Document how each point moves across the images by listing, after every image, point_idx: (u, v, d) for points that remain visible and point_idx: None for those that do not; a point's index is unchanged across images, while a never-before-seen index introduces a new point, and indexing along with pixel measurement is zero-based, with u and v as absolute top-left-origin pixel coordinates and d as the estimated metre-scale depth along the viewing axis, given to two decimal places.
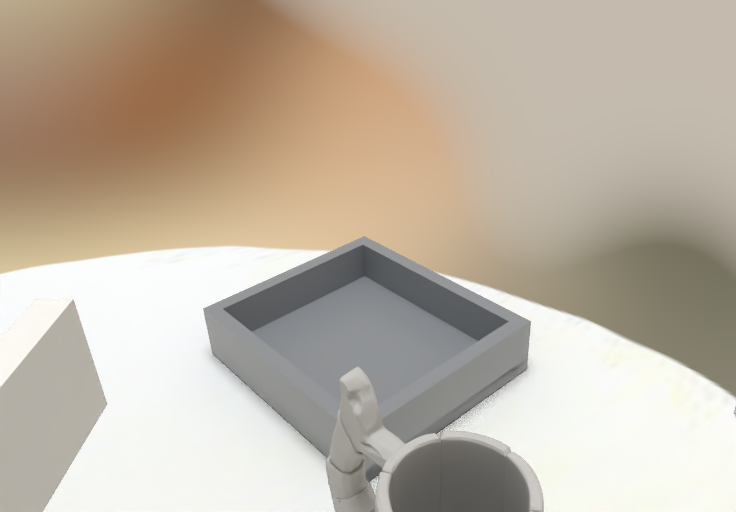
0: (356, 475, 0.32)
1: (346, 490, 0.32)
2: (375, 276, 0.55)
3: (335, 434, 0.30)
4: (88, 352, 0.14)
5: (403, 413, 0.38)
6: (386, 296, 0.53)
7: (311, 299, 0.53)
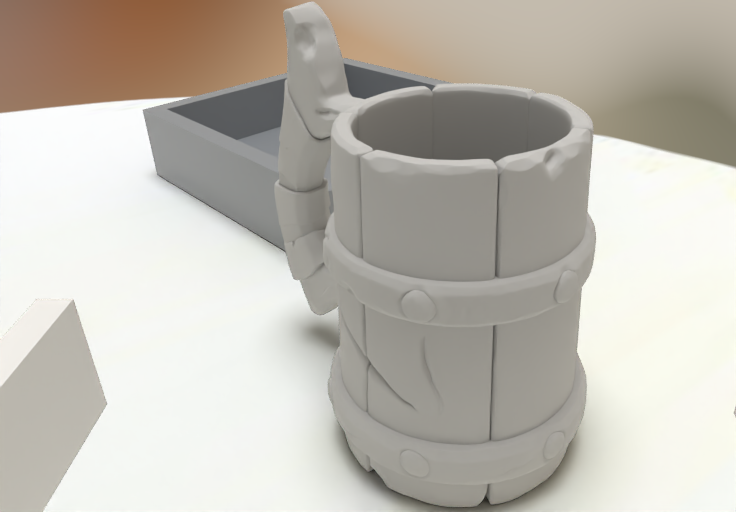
0: (315, 198, 0.22)
1: (302, 222, 0.23)
2: None
3: (282, 122, 0.21)
4: (88, 353, 0.14)
5: None
6: None
7: (280, 122, 0.44)
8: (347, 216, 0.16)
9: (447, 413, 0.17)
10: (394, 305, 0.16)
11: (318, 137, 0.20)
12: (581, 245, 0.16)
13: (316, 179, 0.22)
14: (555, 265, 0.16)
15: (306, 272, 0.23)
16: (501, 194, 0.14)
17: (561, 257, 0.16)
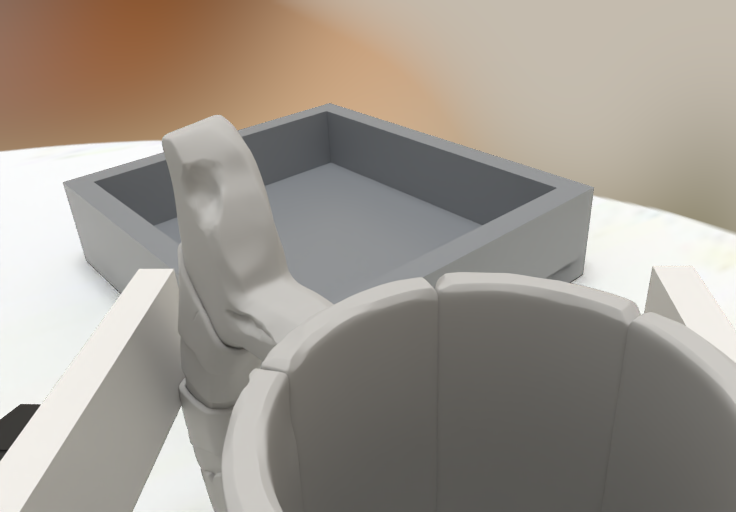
0: None
1: (222, 451, 0.14)
2: (345, 159, 0.37)
3: (179, 309, 0.12)
4: None
5: None
6: (360, 183, 0.35)
7: None
8: None
9: None
10: None
11: (236, 346, 0.12)
12: None
13: (243, 388, 0.13)
14: None
15: None
16: None
17: None
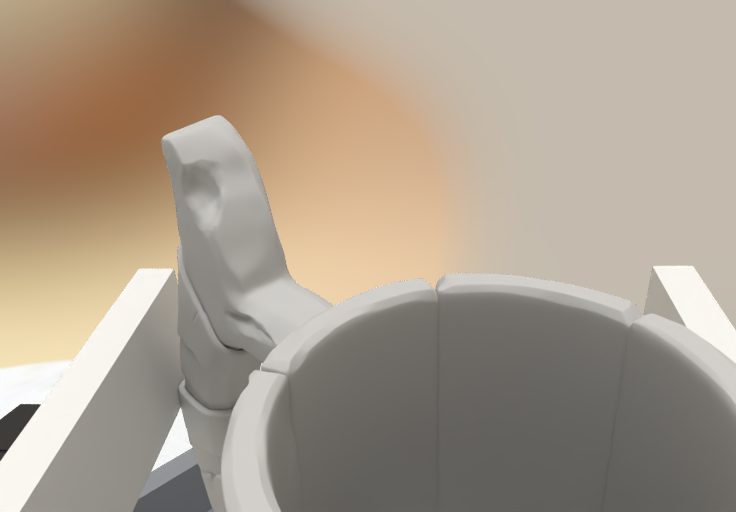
0: None
1: None
2: None
3: (179, 310, 0.12)
4: None
5: None
6: None
7: None
8: None
9: None
10: None
11: (236, 347, 0.12)
12: None
13: (243, 389, 0.13)
14: None
15: None
16: None
17: None
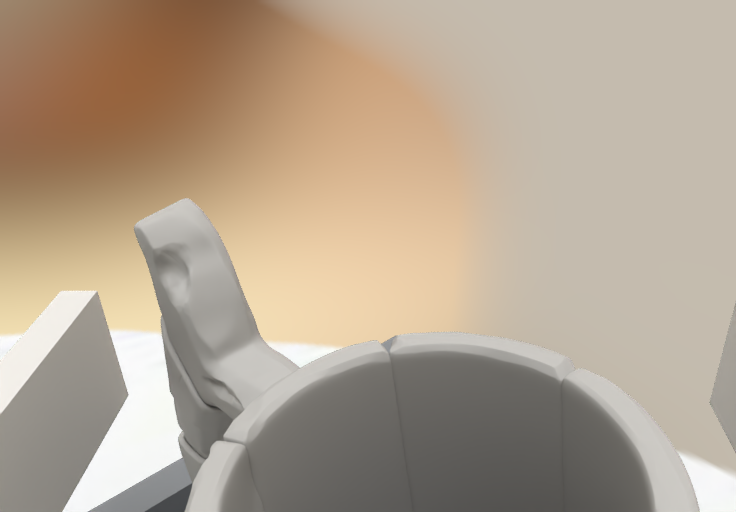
0: None
1: None
2: None
3: (168, 372, 0.13)
4: (111, 344, 0.14)
5: None
6: None
7: None
8: None
9: None
10: None
11: (218, 406, 0.13)
12: None
13: None
14: None
15: None
16: None
17: None
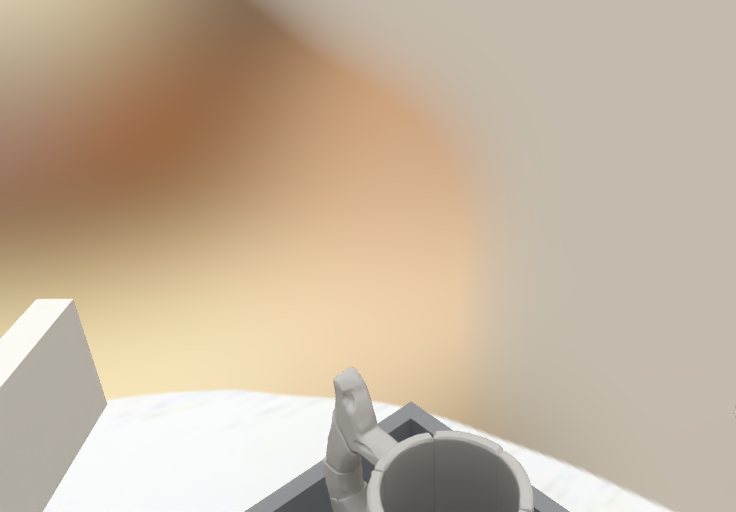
0: (352, 475, 0.32)
1: (343, 490, 0.32)
2: None
3: (331, 434, 0.31)
4: (88, 353, 0.14)
5: None
6: None
7: None
8: None
9: None
10: None
11: (356, 451, 0.30)
12: None
13: (353, 464, 0.32)
14: None
15: None
16: None
17: None
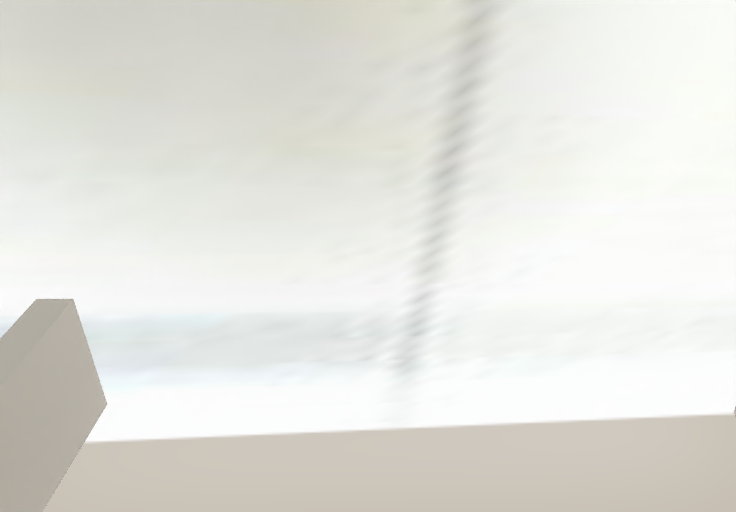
0: None
1: None
2: None
3: None
4: (88, 353, 0.14)
5: None
6: None
7: None
8: None
9: None
10: None
11: None
12: None
13: None
14: None
15: None
16: None
17: None
